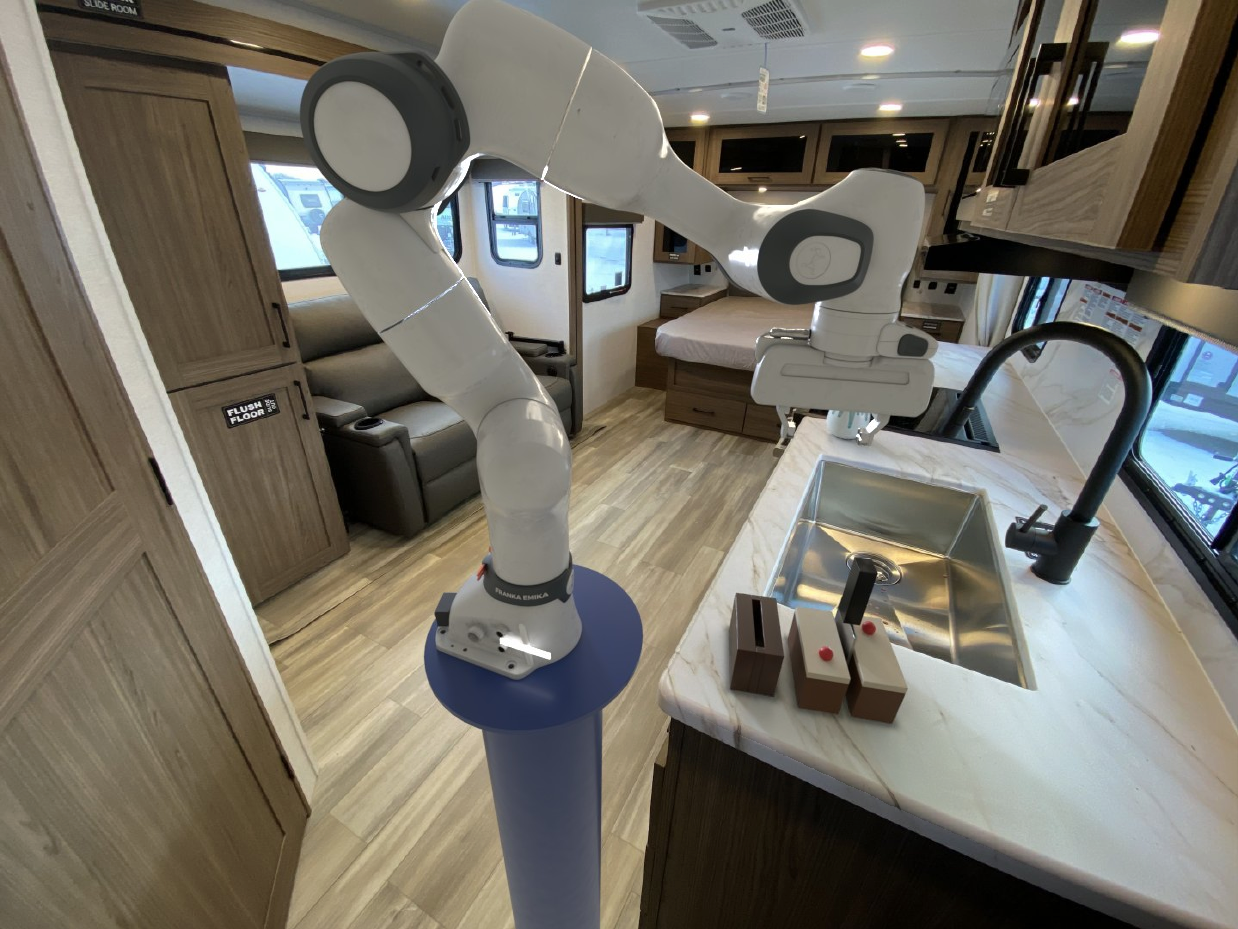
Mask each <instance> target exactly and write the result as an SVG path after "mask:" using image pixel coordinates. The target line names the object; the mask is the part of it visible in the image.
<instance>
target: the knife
mask: <svg viewBox="0 0 1238 929" xmlns="http://www.w3.org/2000/svg"><path fill="white" fill-rule="evenodd" d="M878 575H879V573H878V570H877V568H876V565H875V564H874V561H873V559H872V558H866V557H859V556H854V557H853V559H852V564H851V567H850V570H849V573H848V576H847V579H846V583H845V585H844V589H843V591H842V595H841V597H840V600H839V603H838V605H837V606H838V607H837V610H836V613H835V616H834V620H835V623H836V627H837V631H838V634H839V638H840V642H841V645H842V649H843V653H844V656H845V660H846V664H847V667H848V664H849V662H850V659H851V656H852V653H853V650H854V647H855V644H856V642H857V636H856V633H855V630H854V626H853V625H859V626H860V624H861V621H862V619H863V616H865V612H866V610H867V606H868V604H869V601H870V598H871V596H872V592H873V589H874V587H875V583H876V581H877V578H878Z"/></svg>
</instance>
